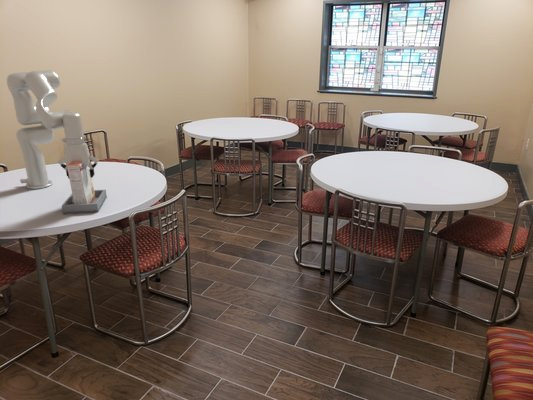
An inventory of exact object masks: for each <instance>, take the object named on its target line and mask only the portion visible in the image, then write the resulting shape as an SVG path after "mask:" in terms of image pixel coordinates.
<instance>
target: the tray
mask: <svg viewBox="0 0 533 400" xmlns="http://www.w3.org/2000/svg"><path fill="white" fill-rule="evenodd" d="M94 192H95V198H94V200H93V201H92V202H91V203H89V204H74V200H73V195H72V193H71V194H70V195H69V197H67V199H66V200H65V201H64V202H63V203H62V205H61V210H62V214H63V215H70V214H71V215H72V214H89V213H99V211H100V210H101V208H102V207H103V205H104V202H105V201H106V199H107V197H108V196H107V190H106V189H94Z"/></svg>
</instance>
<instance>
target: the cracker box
mask: <svg viewBox="0 0 533 400" xmlns="http://www.w3.org/2000/svg"><path fill="white" fill-rule="evenodd" d="M67 169H68V174H69V184H70V188H71V189H70V190H71V194H72V195H73V200H74V204H89V203H91V202H92V201H93V200H94V198H95V192H94V190H95V187H94V182H93V181H94V180H93V177H92V178H91V177H90V171H89V170H90V168H89V167H88V166H83V162H71V163H69V164H68V165H67Z"/></svg>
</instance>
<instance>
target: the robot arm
mask: <svg viewBox="0 0 533 400" xmlns="http://www.w3.org/2000/svg"><path fill="white" fill-rule="evenodd" d="M6 85H7V88H8V91H9V92H10V94H11V96H12V99H13V105H14V111H15V116H16V119H17V122H18V123H19V124H20V125H22V126H25V127H22V128H19V129H18V130H17V131H16V133H15V134H16V136H15V137H16V140H17V142H18V146H19V148H20V150H21V154H22V159H23V164H24V167H25V172H26V177H27V178H20V179H19V181H20V184H25V188H26V189H28V190H40V189H45V188H48V187H50V186H52V185H53V182H52V181H51V180H49V177H48V172H47V165H46V161H45V154H44V152H43V150H42V149H40V148H39V147H38V145H43V144H49V143H52V142H53V141H54V140H55V131H54V130H57V129H59V130H60V129H63V130H64V136H65V138H62V139H61V140H62V142H63V143H65V144H64V157H62V158H60V159H58V160H57V163H58V164H59V165H60V167H61V168H62V169H64V170H65V172H66V177H67V178H68V179H69V174H68V169H67V165H68V164H69V163H71V162H83V166H88V167H89V168H90V170H89V171H90V177H91V178H92V179H93V178H94V176H95V169H94V168H96V166H97V165H98V162H99V160H100V159H99V158H97V157H95V156H93V155H91V153H90V150H89V147H88V144H87V143H86V141H85V135H84V128H83V121H82V116H81V114H80V113H79V112H74V111H73V110H70V109H68V110H58V111H51V110H50V107H49V106H51V105H52V104H54V103H55V102H56V101H57V99H58V94H57V92H56V91H55V89H58V88H59V87H60V85H61V82H60V77H59V76H58V74H57V73H56V72H55V71H53V70H34V71H33V70H31V71H29V72H26V71H25V72H22V71H21V72H13V73H9V74H8V75H7V77H6ZM30 91H31V92H30ZM31 93H32V94H33V95H34V97H35V98H36V99H37V102H36V104H35V103H34V98H33V95H32V94H31ZM37 124H39V125H37ZM32 125H35V126H32ZM92 161H93V164H92ZM64 162H65V163H64ZM69 180H70V179H69Z"/></svg>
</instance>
